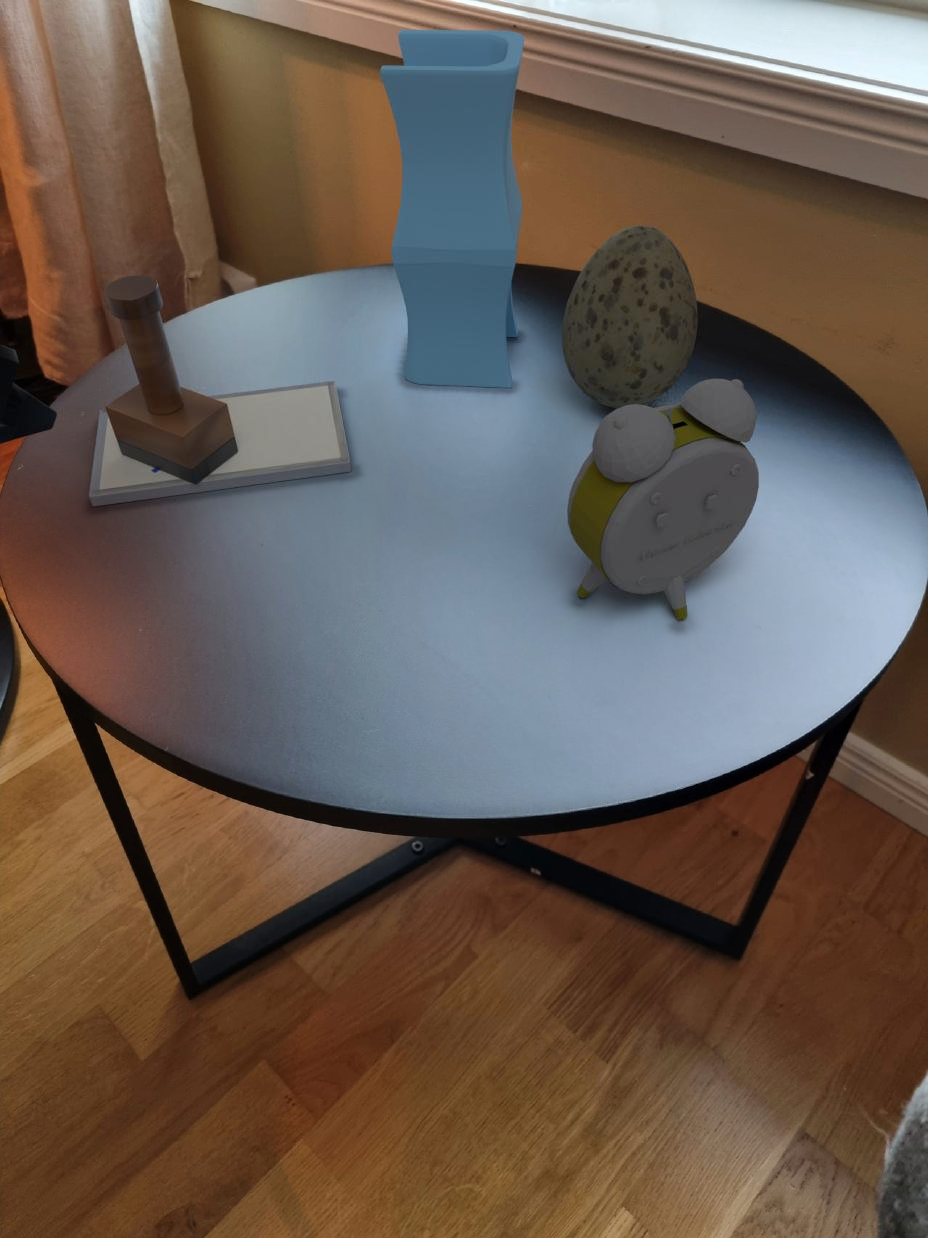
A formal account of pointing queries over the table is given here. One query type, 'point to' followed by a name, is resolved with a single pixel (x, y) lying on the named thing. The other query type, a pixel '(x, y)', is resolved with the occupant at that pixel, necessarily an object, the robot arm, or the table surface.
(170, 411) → the wooden rubber stamp
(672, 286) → the decorative egg
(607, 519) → the alarm clock
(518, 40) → the vase
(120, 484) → the board
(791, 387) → the table surface
